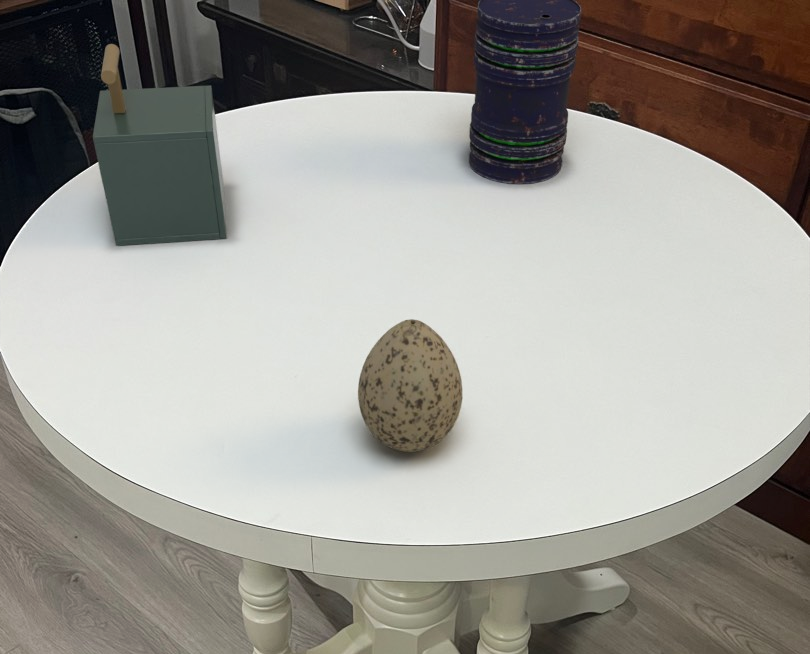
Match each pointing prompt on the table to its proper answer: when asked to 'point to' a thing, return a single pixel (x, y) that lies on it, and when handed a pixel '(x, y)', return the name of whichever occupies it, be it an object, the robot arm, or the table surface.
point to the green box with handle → (159, 161)
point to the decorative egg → (410, 388)
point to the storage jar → (522, 88)
